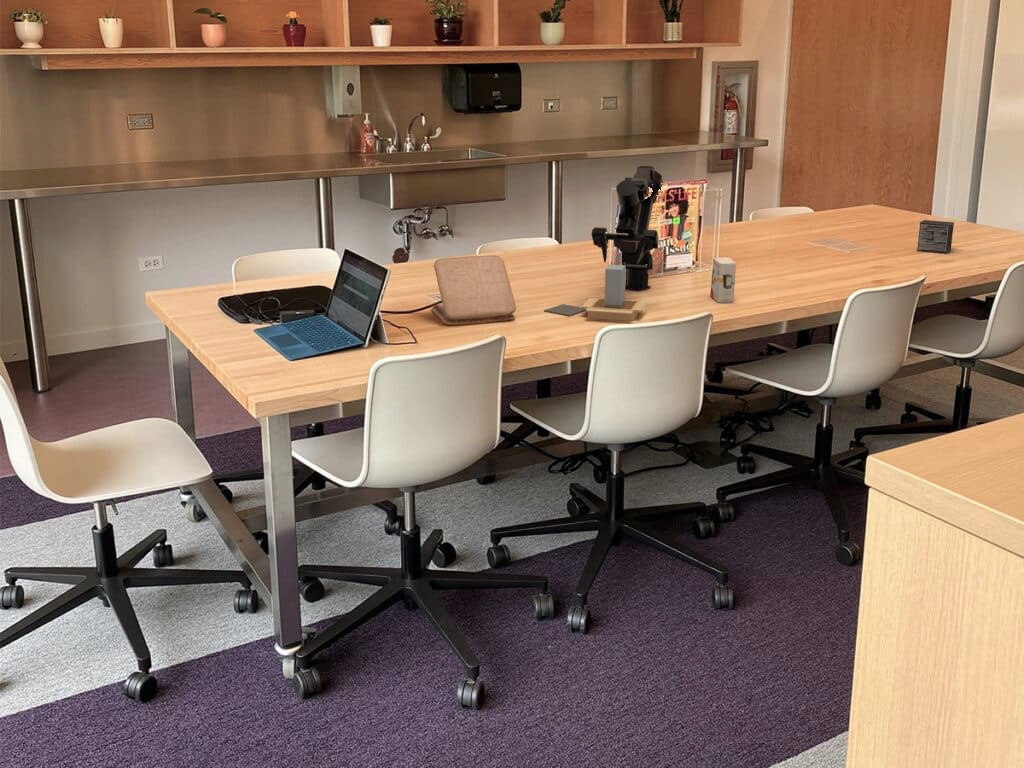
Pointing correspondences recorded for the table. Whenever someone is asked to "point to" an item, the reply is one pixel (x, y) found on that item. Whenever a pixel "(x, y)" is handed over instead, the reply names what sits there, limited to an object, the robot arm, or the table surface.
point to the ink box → (723, 280)
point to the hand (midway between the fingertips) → (620, 262)
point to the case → (473, 290)
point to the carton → (599, 311)
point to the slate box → (615, 286)
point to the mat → (566, 310)
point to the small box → (935, 236)
